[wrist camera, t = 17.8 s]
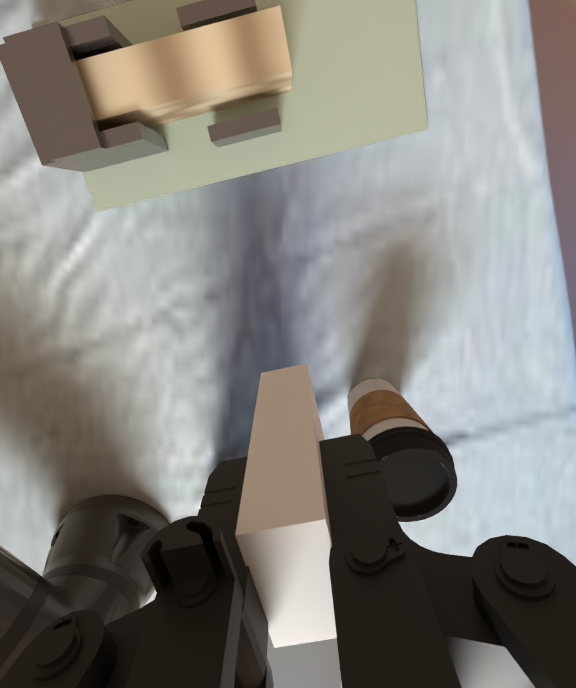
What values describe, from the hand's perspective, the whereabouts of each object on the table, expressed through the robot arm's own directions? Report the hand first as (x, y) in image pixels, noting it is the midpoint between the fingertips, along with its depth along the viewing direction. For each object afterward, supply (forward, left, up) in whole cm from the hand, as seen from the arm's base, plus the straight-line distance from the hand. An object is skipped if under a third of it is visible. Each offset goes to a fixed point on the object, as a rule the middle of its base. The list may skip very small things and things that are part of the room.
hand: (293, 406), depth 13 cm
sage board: (-1, +17, -29) cm, 34 cm away
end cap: (-12, +17, -29) cm, 36 cm away
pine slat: (-5, +17, -29) cm, 34 cm away
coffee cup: (+6, -17, -30) cm, 35 cm away
